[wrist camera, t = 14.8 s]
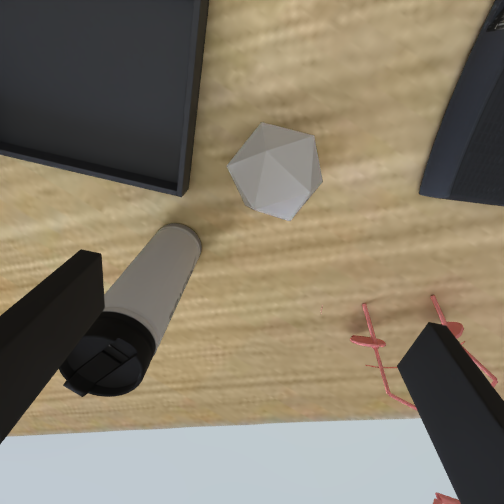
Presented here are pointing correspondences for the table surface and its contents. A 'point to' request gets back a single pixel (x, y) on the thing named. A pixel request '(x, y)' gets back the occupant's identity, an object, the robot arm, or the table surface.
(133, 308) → the travel mug
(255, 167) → the die
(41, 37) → the black tray
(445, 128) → the hard drive
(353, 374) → the table surface
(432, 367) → the robot arm
